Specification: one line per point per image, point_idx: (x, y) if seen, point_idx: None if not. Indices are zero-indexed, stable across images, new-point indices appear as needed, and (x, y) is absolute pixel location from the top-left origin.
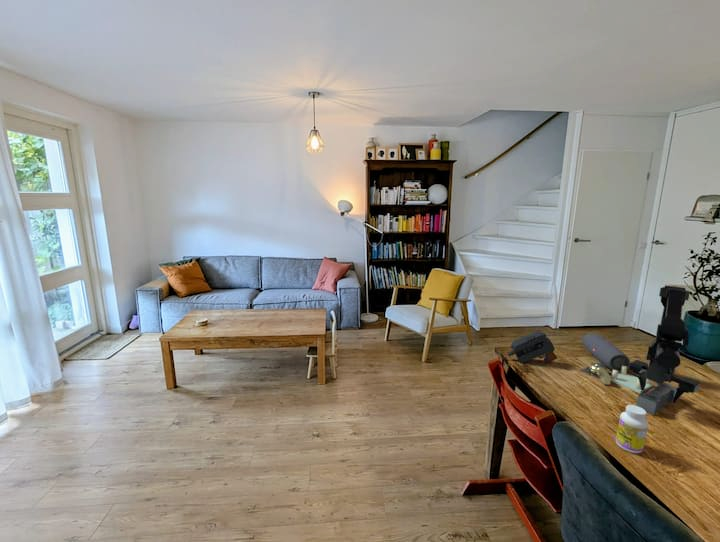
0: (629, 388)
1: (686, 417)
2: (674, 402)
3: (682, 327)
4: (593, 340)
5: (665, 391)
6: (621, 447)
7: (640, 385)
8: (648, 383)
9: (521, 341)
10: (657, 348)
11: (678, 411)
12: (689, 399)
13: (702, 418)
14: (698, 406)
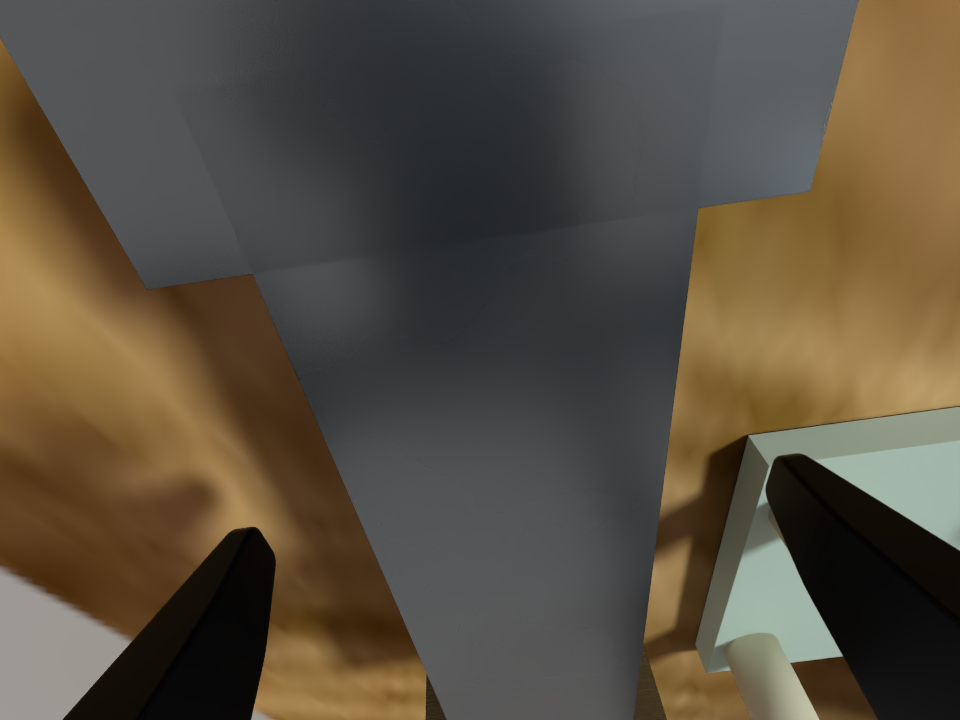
0: (902, 423)
1: (102, 420)
2: (223, 545)
3: None
4: None
5: (472, 685)
6: None
7: (916, 525)
8: (745, 649)
9: None
10: None
11: (258, 462)
12: (410, 685)
13: (82, 546)
14: (301, 662)
